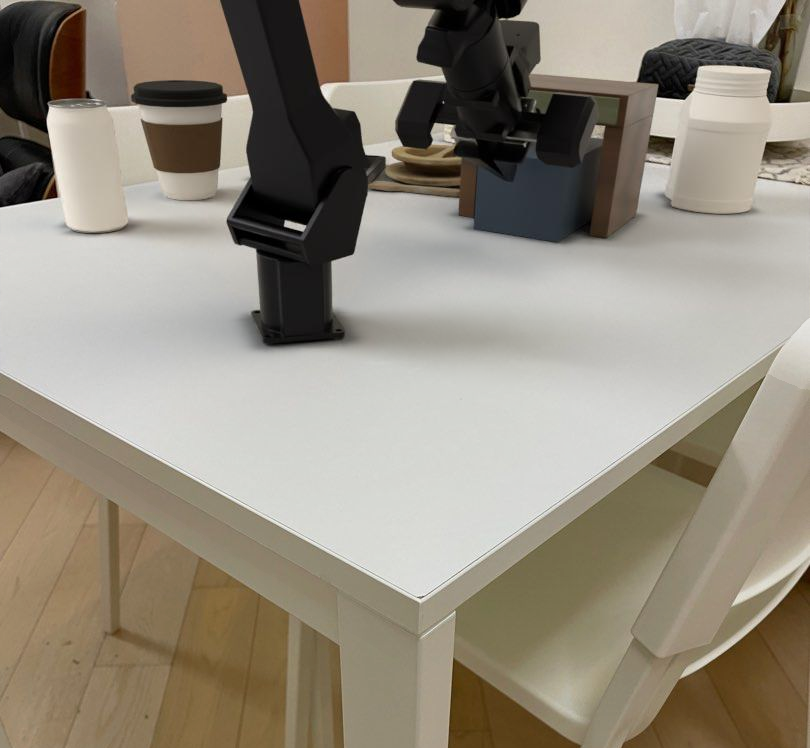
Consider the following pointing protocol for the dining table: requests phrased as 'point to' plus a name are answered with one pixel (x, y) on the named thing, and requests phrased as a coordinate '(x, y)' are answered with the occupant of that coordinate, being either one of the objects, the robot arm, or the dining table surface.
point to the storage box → (539, 197)
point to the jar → (720, 140)
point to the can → (87, 165)
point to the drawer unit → (621, 150)
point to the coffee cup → (183, 134)
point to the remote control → (374, 167)
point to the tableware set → (423, 171)
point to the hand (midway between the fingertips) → (510, 177)
